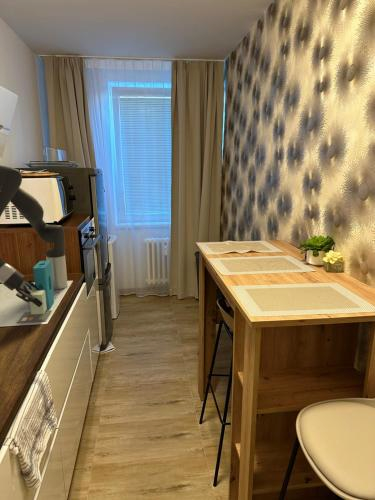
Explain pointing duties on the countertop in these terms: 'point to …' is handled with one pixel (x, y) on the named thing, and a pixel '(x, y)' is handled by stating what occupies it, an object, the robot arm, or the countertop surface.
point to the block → (44, 280)
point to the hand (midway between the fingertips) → (42, 302)
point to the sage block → (42, 297)
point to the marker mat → (34, 317)
